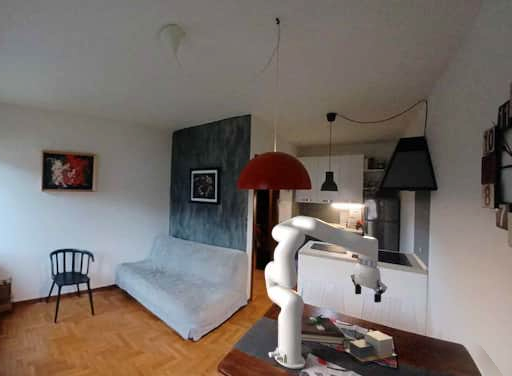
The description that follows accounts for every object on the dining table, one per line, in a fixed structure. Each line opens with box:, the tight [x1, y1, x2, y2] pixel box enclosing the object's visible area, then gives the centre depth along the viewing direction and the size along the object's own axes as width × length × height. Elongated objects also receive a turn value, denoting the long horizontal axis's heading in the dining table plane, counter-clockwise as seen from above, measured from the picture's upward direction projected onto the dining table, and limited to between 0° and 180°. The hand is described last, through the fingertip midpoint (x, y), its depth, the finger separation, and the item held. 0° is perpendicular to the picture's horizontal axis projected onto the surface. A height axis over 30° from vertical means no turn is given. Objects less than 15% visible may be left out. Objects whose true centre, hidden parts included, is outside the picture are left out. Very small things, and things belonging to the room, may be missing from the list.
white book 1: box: [364, 330, 394, 346], centre depth 122 cm, size 8×7×2 cm
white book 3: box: [374, 348, 394, 356], centre depth 122 cm, size 8×7×2 cm
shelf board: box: [344, 348, 397, 363], centre depth 121 cm, size 20×9×2 cm, turn 104°
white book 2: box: [364, 337, 393, 351], centre depth 122 cm, size 8×7×2 cm
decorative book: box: [301, 314, 345, 346], centre depth 137 cm, size 19×8×30 cm
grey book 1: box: [349, 338, 374, 353], centre depth 120 cm, size 8×5×2 cm, turn 104°
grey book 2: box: [349, 346, 374, 358], centre depth 120 cm, size 8×5×2 cm, turn 104°
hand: (367, 297), depth 126 cm, fingers open, 9 cm apart
